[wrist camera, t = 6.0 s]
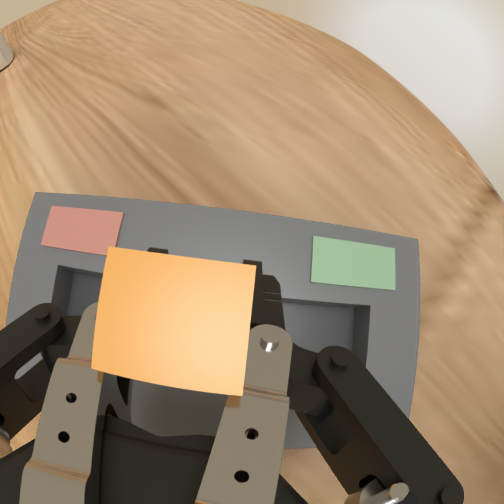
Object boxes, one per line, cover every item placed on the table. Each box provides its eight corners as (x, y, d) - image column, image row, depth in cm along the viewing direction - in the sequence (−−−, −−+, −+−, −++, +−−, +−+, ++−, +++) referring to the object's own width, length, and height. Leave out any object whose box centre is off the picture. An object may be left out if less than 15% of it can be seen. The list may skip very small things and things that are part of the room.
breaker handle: (235, 306, 15) (256, 265, 6) (230, 352, 15) (242, 396, 5) (179, 299, 15) (108, 246, 5) (174, 345, 15) (91, 368, 5)
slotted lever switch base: (393, 252, 19) (419, 238, 16) (381, 424, 15) (407, 437, 12) (56, 210, 17) (34, 190, 14) (29, 376, 14) (2, 381, 11)
